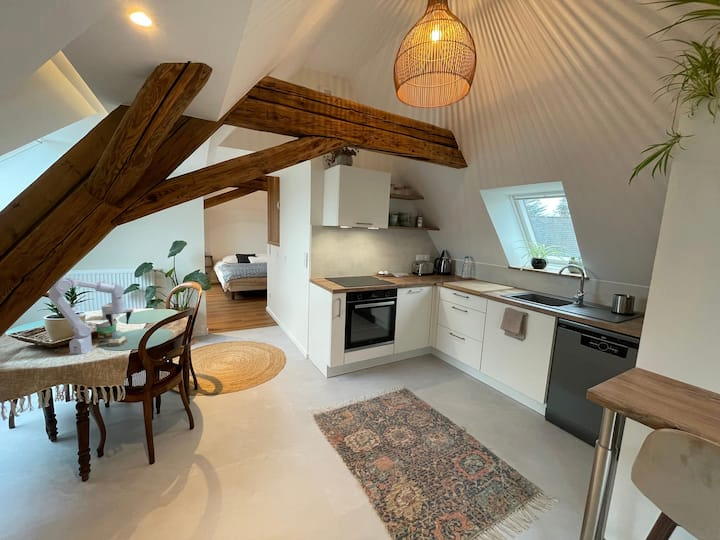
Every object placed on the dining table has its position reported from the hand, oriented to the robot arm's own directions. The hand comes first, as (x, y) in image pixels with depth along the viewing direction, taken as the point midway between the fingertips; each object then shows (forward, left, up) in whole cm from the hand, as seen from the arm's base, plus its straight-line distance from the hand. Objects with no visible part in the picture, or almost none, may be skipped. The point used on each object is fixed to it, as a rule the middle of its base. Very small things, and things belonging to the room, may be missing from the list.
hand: (119, 324), depth 185 cm
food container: (+7, +11, -11) cm, 17 cm away
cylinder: (-6, -2, -6) cm, 9 cm away
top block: (-6, -2, -8) cm, 10 cm away
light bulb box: (+44, +35, -11) cm, 57 cm away
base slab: (-5, -2, -11) cm, 12 cm away
